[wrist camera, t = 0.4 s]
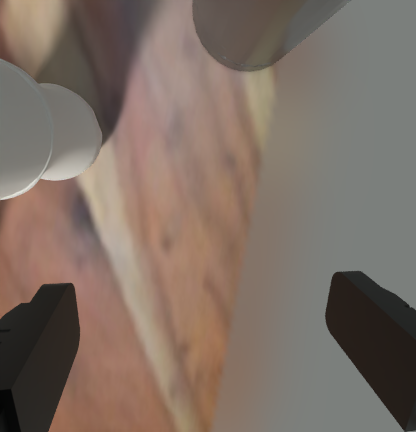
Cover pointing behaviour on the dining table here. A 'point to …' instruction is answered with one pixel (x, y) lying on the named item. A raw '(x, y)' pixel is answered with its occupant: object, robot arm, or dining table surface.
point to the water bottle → (42, 132)
